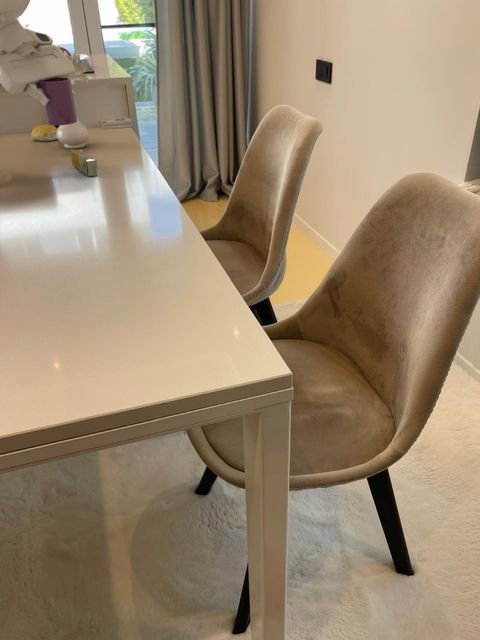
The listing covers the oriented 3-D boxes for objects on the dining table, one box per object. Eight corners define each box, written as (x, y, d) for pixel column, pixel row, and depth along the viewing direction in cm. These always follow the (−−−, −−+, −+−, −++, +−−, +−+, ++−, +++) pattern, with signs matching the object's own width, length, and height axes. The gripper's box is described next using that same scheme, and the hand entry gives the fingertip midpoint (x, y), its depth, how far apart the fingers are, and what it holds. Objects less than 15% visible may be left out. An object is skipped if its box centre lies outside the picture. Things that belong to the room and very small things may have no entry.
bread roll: (50, 134, 181) (47, 121, 178) (65, 138, 176) (63, 125, 174) (26, 138, 175) (23, 125, 173) (42, 143, 171) (39, 129, 168)
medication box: (98, 176, 144) (97, 160, 142) (87, 176, 142) (86, 160, 140) (81, 164, 152) (80, 148, 150) (71, 164, 150) (70, 149, 148)
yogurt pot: (54, 126, 126) (45, 83, 121) (43, 121, 131) (34, 79, 126) (82, 122, 130) (74, 80, 125) (70, 117, 134) (63, 76, 129)
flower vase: (47, 155, 159) (26, 57, 145) (59, 139, 175) (41, 49, 160) (93, 154, 161) (77, 56, 147) (101, 138, 176) (88, 48, 162)
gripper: (-15, 43, 115) (33, 98, 118) (53, 34, 131) (94, 82, 133) (-25, 66, 119) (22, 118, 122) (43, 54, 135) (83, 101, 137)
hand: (60, 99), depth 127 cm, fingers closed on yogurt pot, 7 cm apart
